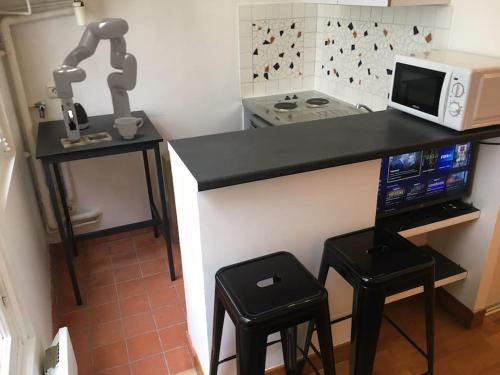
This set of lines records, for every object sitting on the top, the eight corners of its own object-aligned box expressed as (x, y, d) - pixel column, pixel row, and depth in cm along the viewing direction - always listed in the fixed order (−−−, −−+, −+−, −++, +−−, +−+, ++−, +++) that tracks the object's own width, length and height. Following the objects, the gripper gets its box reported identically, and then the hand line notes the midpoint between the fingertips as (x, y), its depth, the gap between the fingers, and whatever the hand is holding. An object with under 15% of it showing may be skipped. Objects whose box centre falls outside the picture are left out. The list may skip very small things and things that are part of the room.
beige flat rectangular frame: (107, 134, 237) (106, 132, 237) (112, 139, 228) (111, 137, 227) (61, 141, 227) (60, 139, 226) (64, 148, 217) (63, 145, 216)
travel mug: (67, 142, 220) (59, 105, 212) (69, 139, 226) (61, 102, 217) (80, 141, 222) (73, 104, 213) (81, 137, 228) (74, 101, 219)
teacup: (147, 137, 230) (145, 119, 226) (120, 142, 223) (117, 124, 219) (141, 132, 240) (139, 114, 235) (115, 136, 233) (112, 119, 229)
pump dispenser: (78, 125, 255) (74, 100, 249) (93, 126, 252) (89, 101, 246) (67, 130, 246) (62, 104, 240) (83, 131, 243) (78, 105, 237)
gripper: (75, 96, 208) (82, 131, 216) (70, 90, 222) (77, 123, 230) (59, 98, 205) (67, 134, 213) (55, 92, 219) (62, 125, 226)
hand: (72, 128), depth 221 cm, fingers closed on travel mug, 6 cm apart
